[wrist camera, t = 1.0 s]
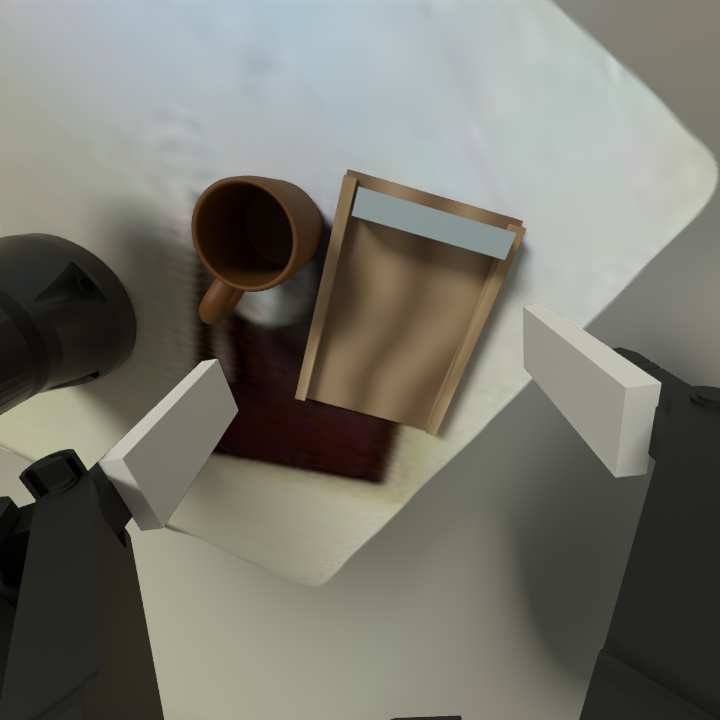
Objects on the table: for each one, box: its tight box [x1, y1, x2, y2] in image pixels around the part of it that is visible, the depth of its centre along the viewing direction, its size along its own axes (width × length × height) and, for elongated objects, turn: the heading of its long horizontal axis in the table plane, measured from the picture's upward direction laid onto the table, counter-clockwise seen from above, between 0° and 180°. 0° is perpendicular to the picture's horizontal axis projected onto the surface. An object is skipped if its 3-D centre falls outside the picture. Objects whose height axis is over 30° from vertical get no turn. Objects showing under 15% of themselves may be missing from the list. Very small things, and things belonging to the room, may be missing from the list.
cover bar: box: [352, 187, 516, 260], centre depth 28 cm, size 12×2×4 cm, turn 75°
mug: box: [191, 176, 322, 325], centre depth 29 cm, size 12×8×9 cm, turn 145°
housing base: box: [295, 169, 526, 436], centre depth 34 cm, size 15×22×3 cm
